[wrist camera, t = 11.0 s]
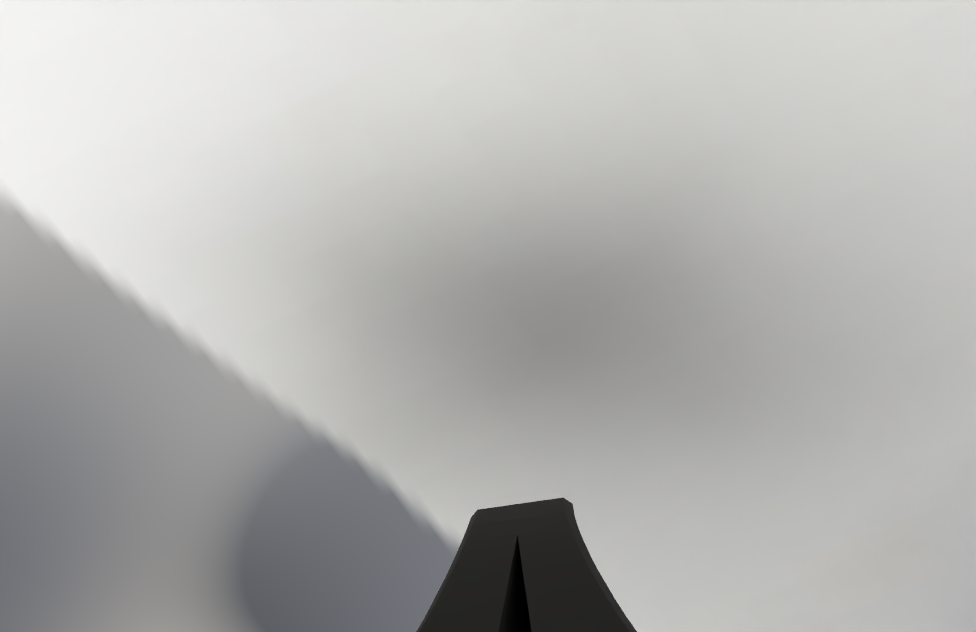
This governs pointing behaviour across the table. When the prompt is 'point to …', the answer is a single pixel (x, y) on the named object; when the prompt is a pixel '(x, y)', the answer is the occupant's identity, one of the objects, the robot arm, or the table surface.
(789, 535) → the table surface
